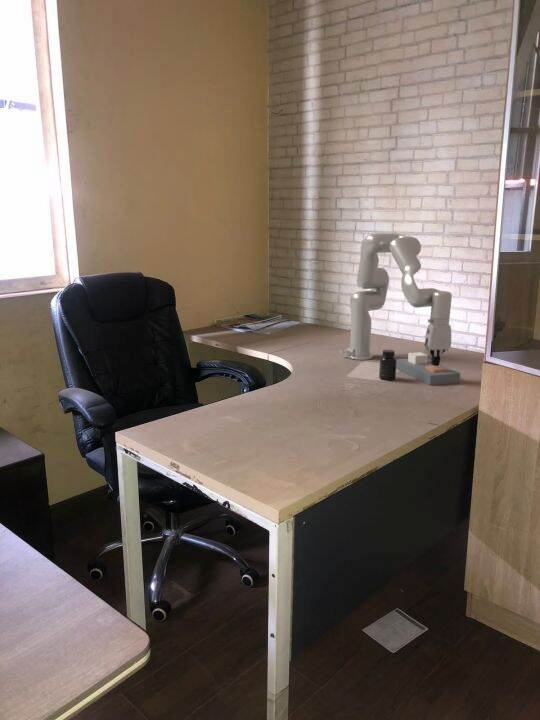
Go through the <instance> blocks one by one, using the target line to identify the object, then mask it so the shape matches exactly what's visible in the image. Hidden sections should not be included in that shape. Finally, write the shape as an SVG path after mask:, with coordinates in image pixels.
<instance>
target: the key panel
mask: <svg viewBox="0 0 540 720" xmlns="http://www.w3.org/2000/svg"><path fill="white" fill-rule="evenodd" d="M396 359H397V358H396ZM426 366H434V365H432V364H431V360H429V359H428V361H427V364H413V363H410V362H408V358H398V359H397V364H396V370H398V371H400V372H402V373H403V374H406V375H408V374H409V375H408V376H410V377H411V378H412V377H413V379H416V380H418V381H421V382H422V383H425V384H426V385H429V386H436V385H448V384H449V383H450V384H459V383H458V382H460V380H461V373H460V372H459V371H457V370H454V369H451V368H449V367H447V366H443V365H441V364H440V363H439V366H441V367H443V368H446V372H436V373H433V372H430V371H428V370H426V369H425V368H426ZM450 384H449V385H450Z"/></svg>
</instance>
